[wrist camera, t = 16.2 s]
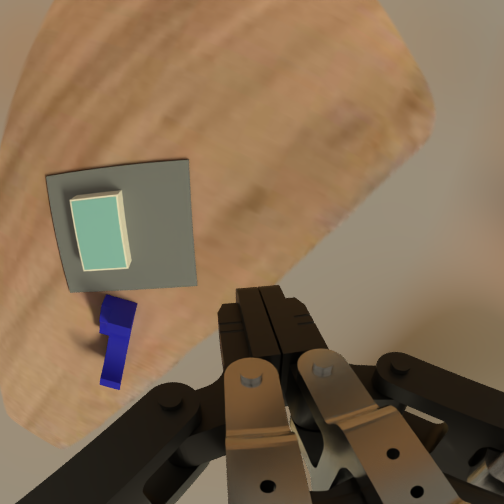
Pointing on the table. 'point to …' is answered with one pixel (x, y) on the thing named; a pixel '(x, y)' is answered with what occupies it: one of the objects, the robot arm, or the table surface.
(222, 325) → the robot arm
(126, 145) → the table surface
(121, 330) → the blue u-shaped bracket
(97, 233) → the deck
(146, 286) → the mat
